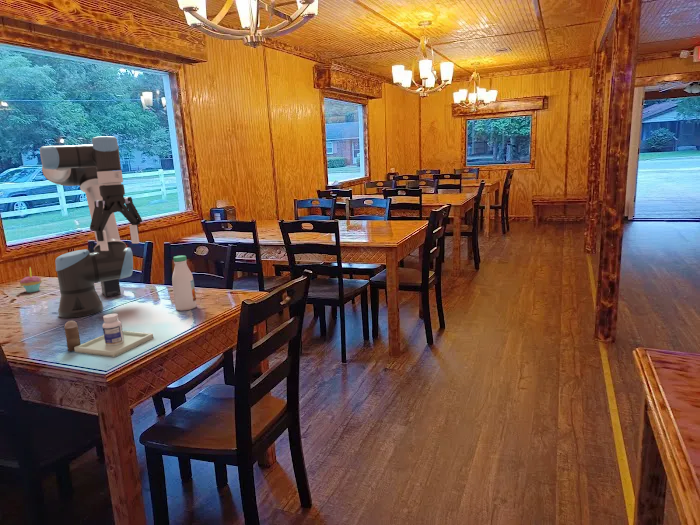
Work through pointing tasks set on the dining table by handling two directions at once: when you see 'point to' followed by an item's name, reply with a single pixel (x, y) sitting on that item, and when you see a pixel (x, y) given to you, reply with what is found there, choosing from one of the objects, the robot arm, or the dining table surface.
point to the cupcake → (31, 283)
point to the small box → (110, 287)
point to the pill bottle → (112, 330)
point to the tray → (100, 348)
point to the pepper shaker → (72, 335)
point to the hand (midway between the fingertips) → (120, 247)
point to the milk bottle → (183, 285)
